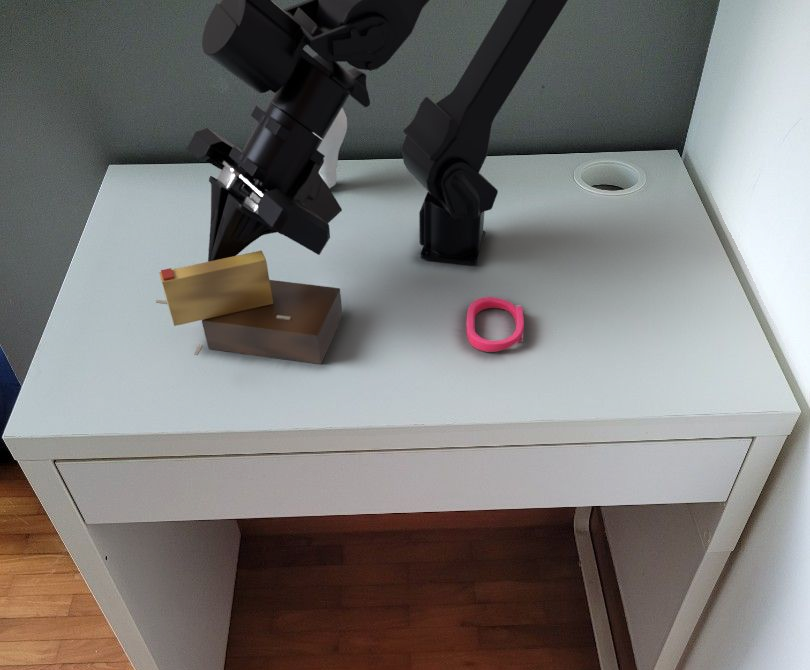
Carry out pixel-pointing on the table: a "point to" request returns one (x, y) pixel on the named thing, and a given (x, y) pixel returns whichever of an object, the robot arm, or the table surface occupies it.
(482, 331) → the table surface
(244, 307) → the tap handle
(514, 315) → the fitness band
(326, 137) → the lightbulb
